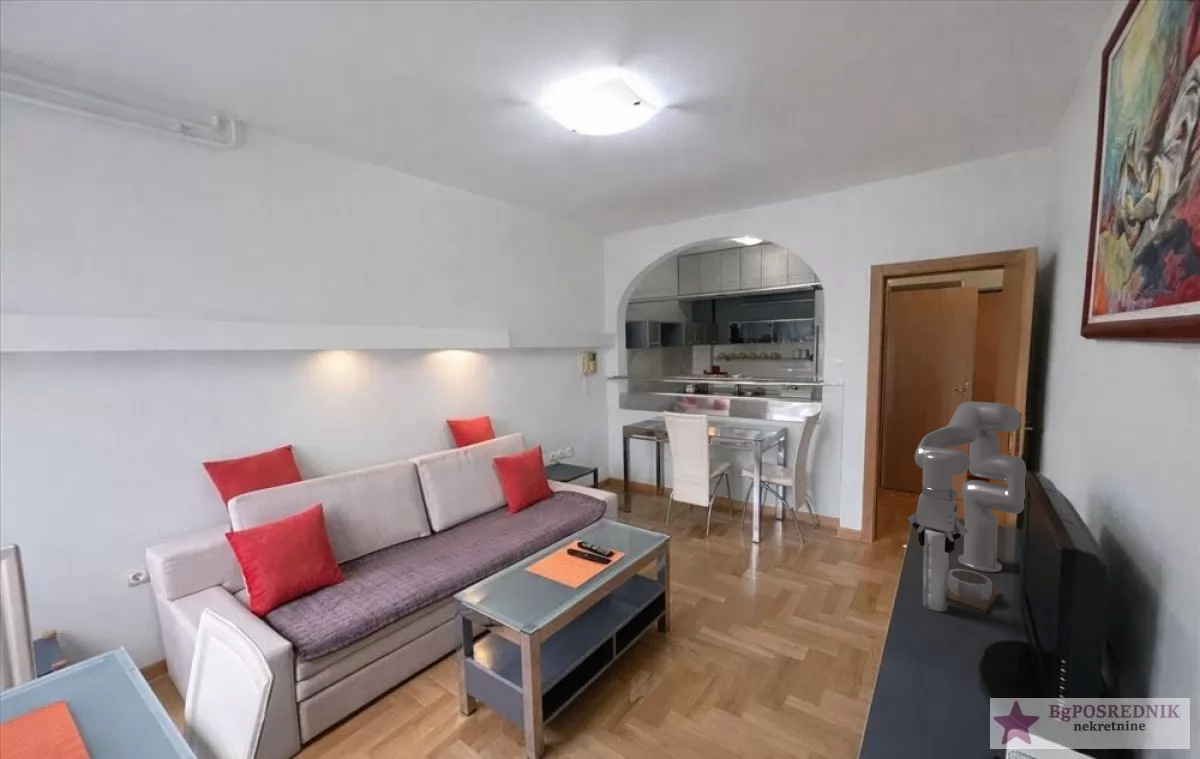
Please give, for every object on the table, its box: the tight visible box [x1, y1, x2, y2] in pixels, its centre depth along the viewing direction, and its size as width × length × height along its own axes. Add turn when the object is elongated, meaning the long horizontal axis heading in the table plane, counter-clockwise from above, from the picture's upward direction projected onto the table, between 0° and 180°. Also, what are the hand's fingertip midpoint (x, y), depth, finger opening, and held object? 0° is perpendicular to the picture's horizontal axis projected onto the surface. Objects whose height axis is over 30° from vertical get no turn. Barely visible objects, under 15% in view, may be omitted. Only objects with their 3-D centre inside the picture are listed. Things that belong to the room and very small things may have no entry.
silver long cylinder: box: [922, 527, 950, 613], centre depth 146 cm, size 6×6×25 cm
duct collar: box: [948, 568, 1001, 615], centre depth 152 cm, size 18×12×6 cm, turn 128°
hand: (936, 547), depth 146 cm, fingers closed on silver long cylinder, 6 cm apart
